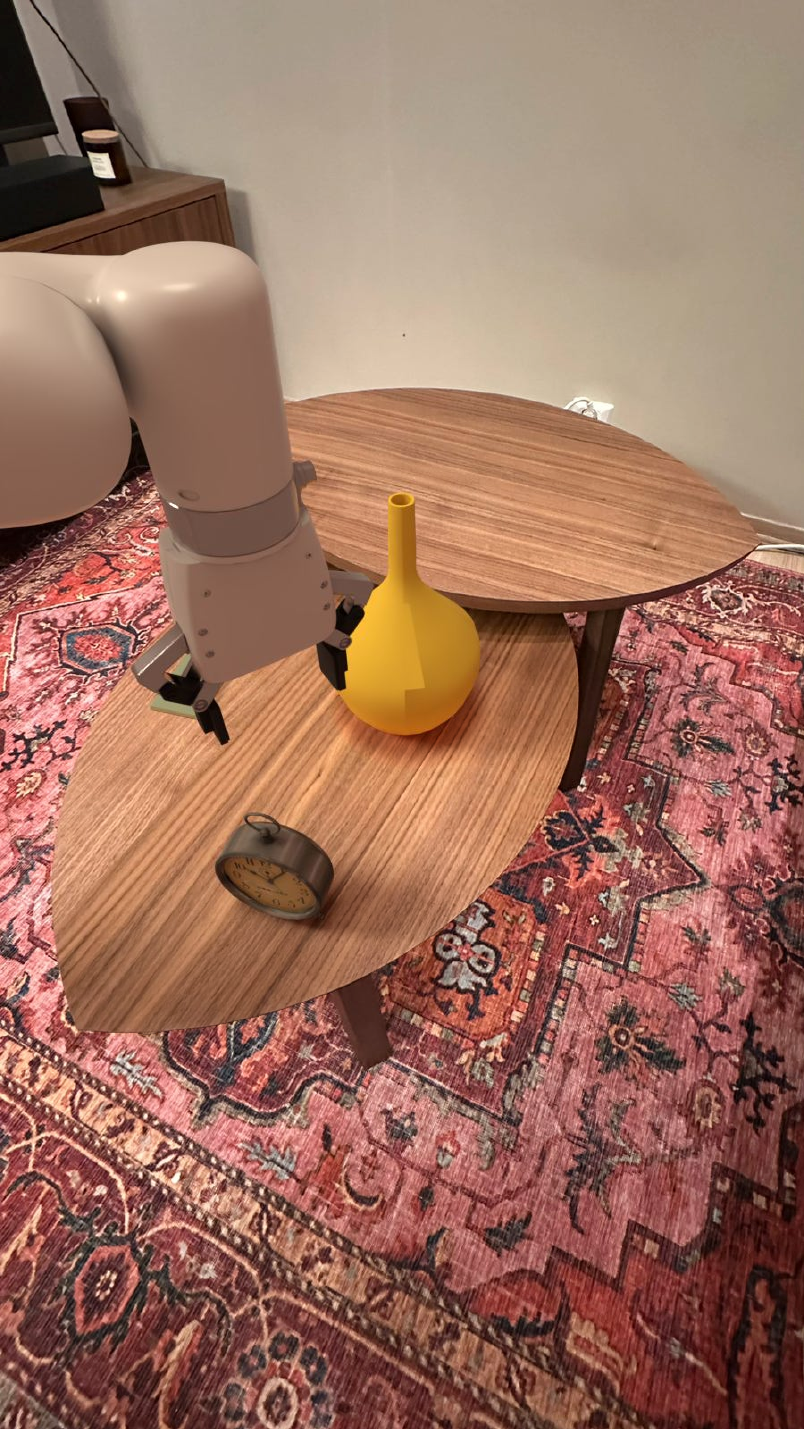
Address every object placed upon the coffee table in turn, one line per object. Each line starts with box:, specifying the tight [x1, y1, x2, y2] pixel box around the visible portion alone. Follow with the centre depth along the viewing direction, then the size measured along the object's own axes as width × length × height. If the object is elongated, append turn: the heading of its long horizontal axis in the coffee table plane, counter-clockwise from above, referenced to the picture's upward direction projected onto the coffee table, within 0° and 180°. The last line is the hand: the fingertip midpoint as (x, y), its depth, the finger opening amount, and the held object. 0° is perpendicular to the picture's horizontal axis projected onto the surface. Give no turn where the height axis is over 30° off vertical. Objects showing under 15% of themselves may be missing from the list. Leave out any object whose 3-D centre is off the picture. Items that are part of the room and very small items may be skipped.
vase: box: [337, 492, 482, 736], centre depth 78 cm, size 18×18×30 cm
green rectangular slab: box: [149, 653, 224, 720], centre depth 92 cm, size 13×7×1 cm, turn 164°
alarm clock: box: [214, 811, 335, 922], centre depth 65 cm, size 11×5×16 cm, turn 73°
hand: (277, 704), depth 52 cm, fingers open, 9 cm apart
